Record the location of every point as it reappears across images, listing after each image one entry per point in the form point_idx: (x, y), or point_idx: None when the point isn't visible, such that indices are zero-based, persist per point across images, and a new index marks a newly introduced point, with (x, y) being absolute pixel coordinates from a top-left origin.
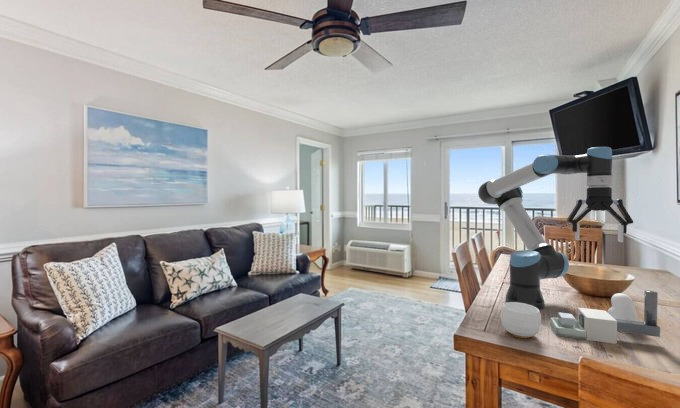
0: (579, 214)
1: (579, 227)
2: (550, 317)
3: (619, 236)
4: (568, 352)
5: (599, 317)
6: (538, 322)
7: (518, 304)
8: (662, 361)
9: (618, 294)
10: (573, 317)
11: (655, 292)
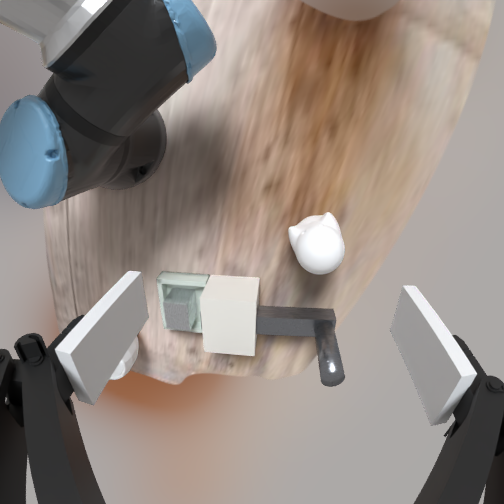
0: (30, 448)
1: (105, 384)
2: (157, 281)
3: (409, 334)
4: (179, 367)
5: (228, 346)
6: (131, 367)
7: None
8: (296, 363)
9: (312, 261)
10: (187, 324)
11: (340, 380)
